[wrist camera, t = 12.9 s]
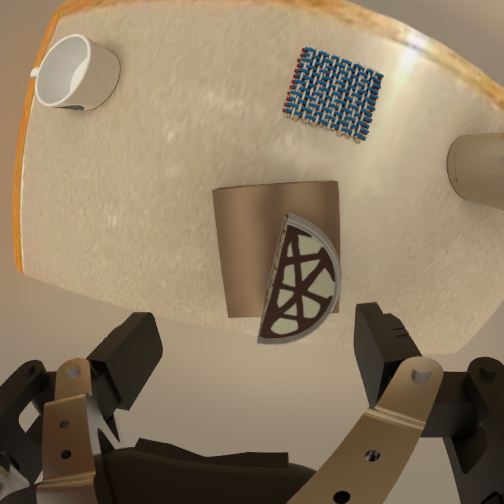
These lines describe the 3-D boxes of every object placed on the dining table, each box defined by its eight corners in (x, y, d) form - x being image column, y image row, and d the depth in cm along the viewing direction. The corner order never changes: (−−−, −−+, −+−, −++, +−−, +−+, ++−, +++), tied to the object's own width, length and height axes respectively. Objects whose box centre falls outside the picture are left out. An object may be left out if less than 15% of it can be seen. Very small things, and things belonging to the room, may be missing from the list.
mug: (132, 48, 30) (102, 29, 22) (110, 115, 33) (74, 108, 25) (70, 52, 30) (38, 40, 22) (51, 110, 33) (17, 106, 25)
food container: (311, 311, 35) (319, 360, 25) (263, 300, 35) (255, 348, 25) (340, 214, 31) (364, 235, 21) (287, 201, 31) (289, 216, 22)
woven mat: (302, 47, 28) (302, 40, 27) (380, 75, 28) (385, 71, 26) (279, 117, 32) (278, 114, 30) (361, 146, 31) (366, 145, 30)
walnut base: (333, 180, 33) (337, 181, 30) (335, 302, 37) (338, 312, 34) (218, 188, 34) (212, 190, 32) (232, 306, 39) (228, 317, 36)
